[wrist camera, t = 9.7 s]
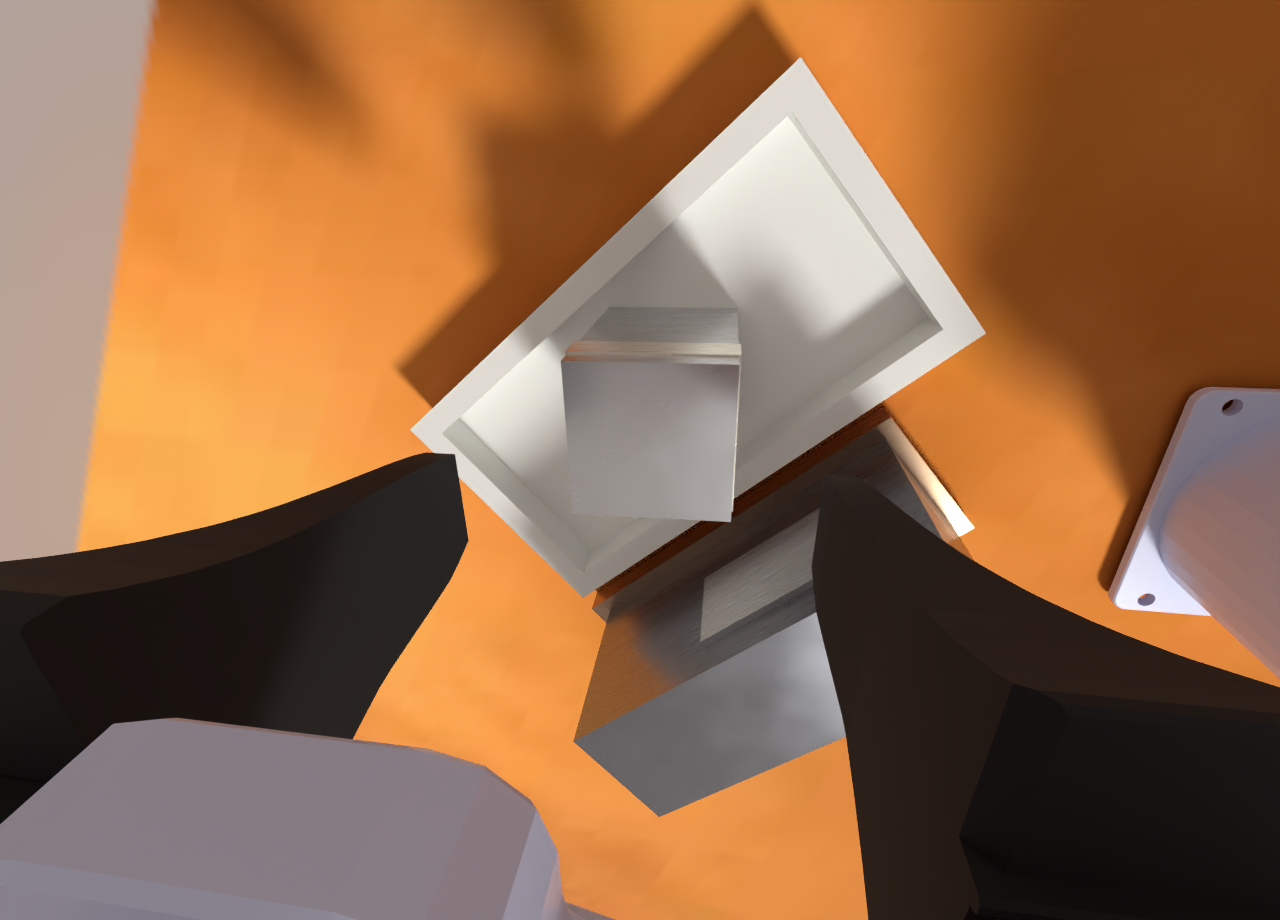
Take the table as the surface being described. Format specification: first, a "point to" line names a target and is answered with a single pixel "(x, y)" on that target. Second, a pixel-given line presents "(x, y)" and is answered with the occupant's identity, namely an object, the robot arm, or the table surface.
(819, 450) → the mounted housing
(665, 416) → the block
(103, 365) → the table surface
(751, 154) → the tray
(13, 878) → the robot arm
